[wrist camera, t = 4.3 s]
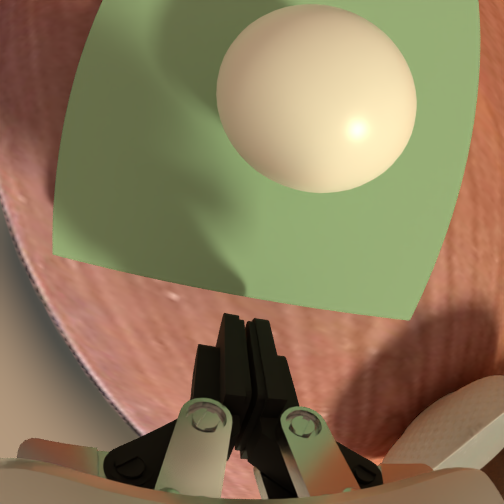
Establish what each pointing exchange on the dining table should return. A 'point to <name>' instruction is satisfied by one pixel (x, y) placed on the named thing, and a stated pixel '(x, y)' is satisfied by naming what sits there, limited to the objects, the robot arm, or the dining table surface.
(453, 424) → the cereal bowl
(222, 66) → the ball
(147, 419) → the dining table surface
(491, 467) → the plant pot
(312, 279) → the putting board
